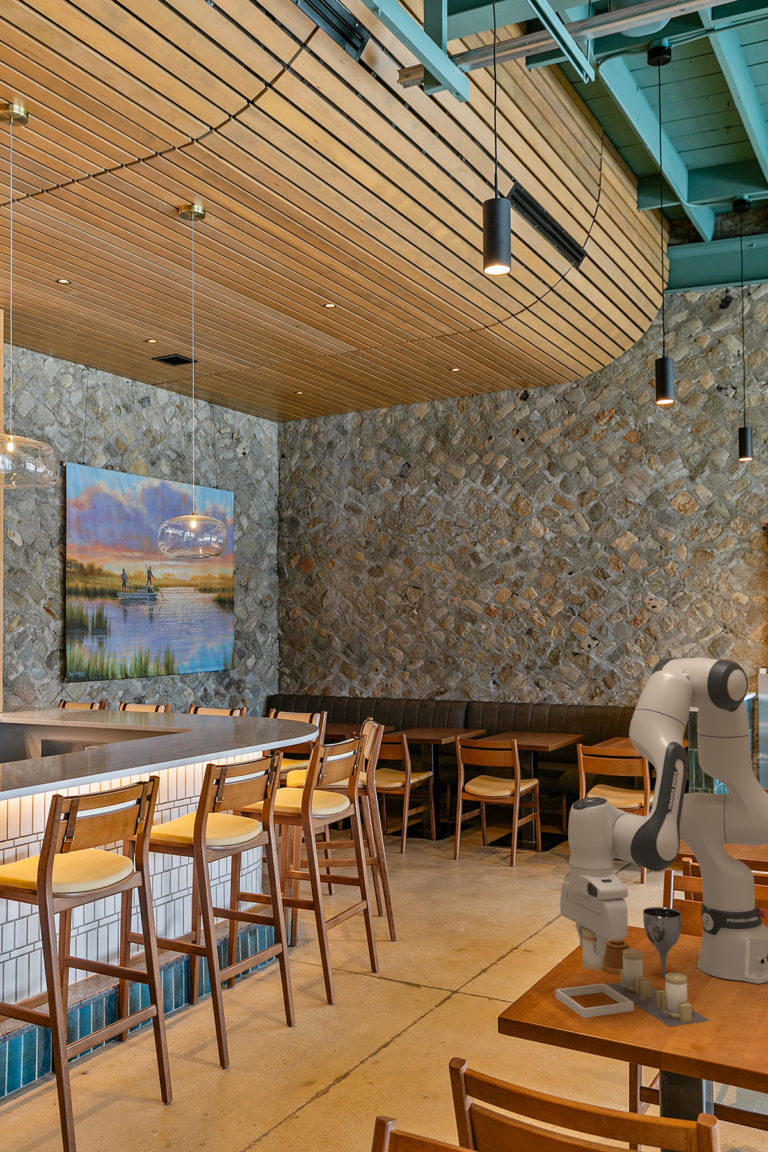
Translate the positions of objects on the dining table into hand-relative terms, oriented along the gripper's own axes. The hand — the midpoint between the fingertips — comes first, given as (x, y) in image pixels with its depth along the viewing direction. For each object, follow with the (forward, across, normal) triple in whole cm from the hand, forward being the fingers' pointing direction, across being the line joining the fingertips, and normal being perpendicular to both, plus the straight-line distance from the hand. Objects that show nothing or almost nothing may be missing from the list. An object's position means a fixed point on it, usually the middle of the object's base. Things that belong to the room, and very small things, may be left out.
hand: (592, 951), depth 187 cm
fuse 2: (+10, +10, +12) cm, 19 cm away
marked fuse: (+3, 0, 0) cm, 3 cm away
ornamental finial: (+12, -16, +16) cm, 26 cm away
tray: (+12, 0, 0) cm, 12 cm away
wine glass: (+12, -9, +23) cm, 27 cm away
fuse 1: (+10, -5, +12) cm, 17 cm away
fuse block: (+12, +3, +12) cm, 17 cm away
